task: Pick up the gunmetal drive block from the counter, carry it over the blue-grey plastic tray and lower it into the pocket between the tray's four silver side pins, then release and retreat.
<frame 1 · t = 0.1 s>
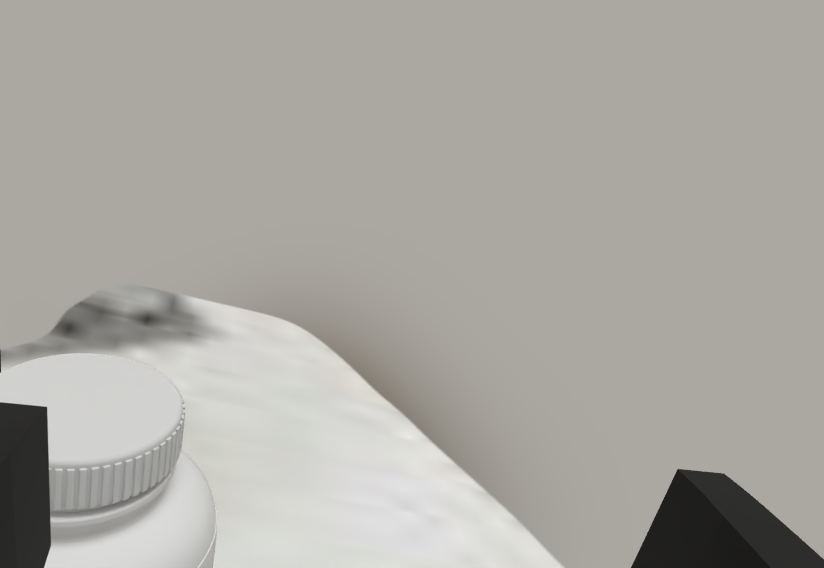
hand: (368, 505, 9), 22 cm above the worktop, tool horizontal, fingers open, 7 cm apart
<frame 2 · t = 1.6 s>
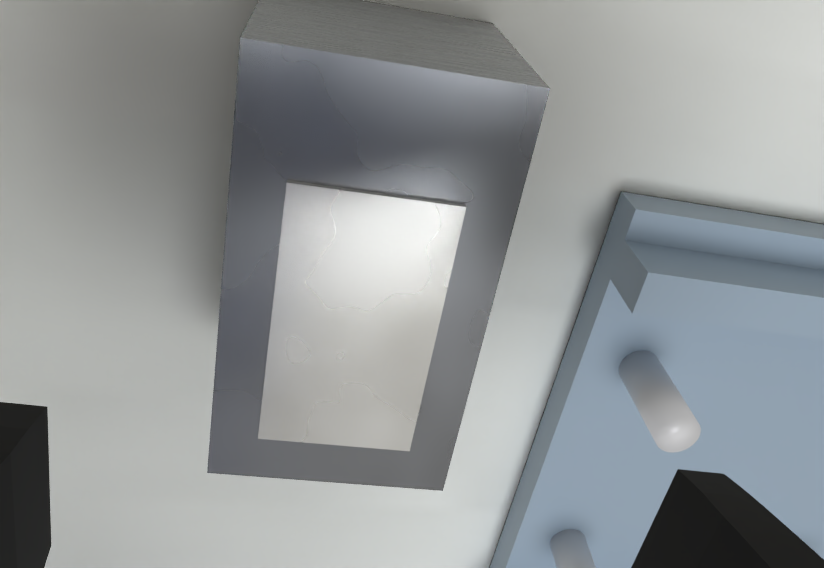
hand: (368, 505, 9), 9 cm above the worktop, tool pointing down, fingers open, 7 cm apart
drive: (353, 188, 17), on the worktop
tray: (707, 447, 22), on the worktop
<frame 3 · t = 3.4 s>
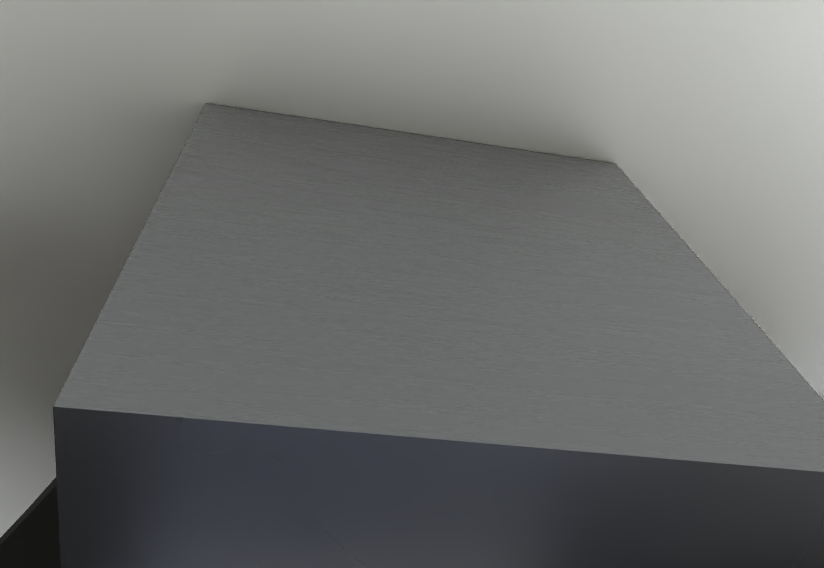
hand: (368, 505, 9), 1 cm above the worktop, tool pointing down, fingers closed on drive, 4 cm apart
drive: (364, 424, 10), on the worktop, touching gripper
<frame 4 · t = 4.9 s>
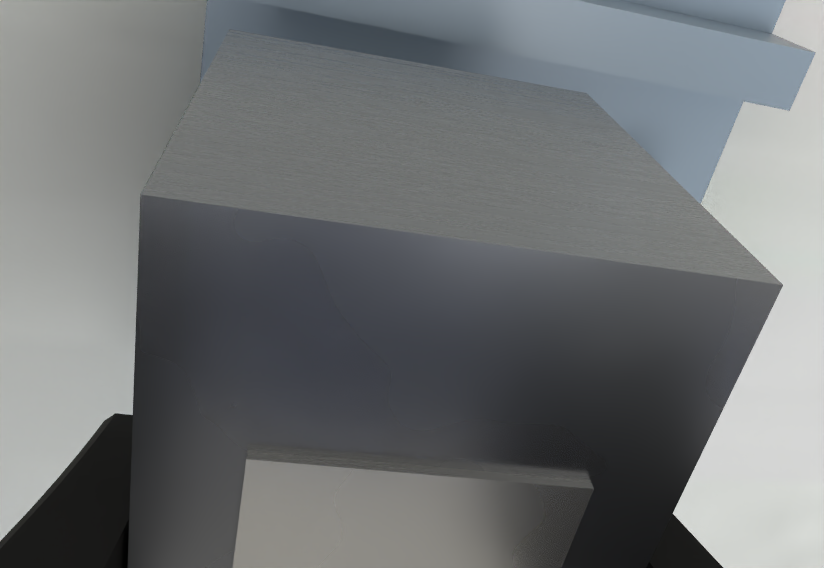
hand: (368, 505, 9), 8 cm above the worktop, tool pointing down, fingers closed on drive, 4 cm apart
drive: (361, 332, 11), point 5 cm above the worktop, touching gripper
tray: (426, 266, 17), on the worktop
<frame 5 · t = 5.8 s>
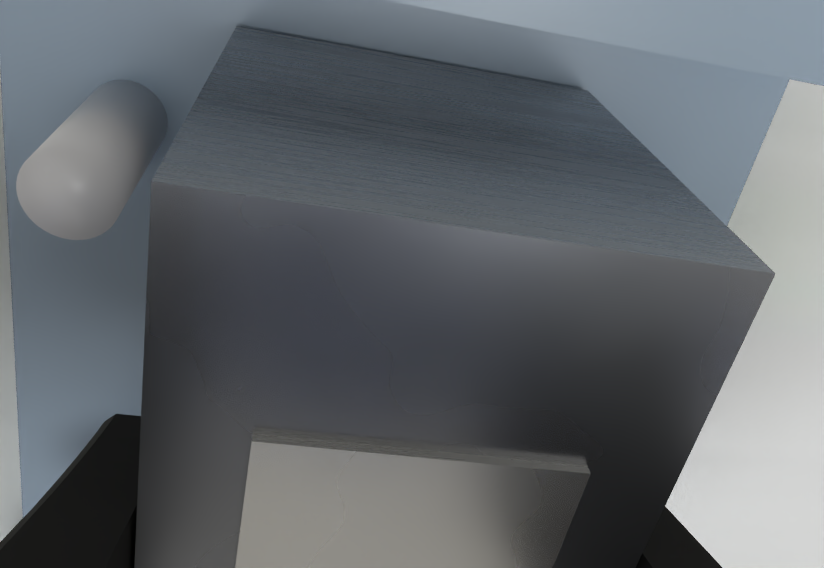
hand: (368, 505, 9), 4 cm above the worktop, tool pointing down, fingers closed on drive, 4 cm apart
drive: (365, 326, 12), point 1 cm above the worktop, touching gripper
tray: (357, 311, 13), on the worktop
when the fingers open (4 cm above the worktop, at t = 6.8 s): drive stays where it is, resting on tray.
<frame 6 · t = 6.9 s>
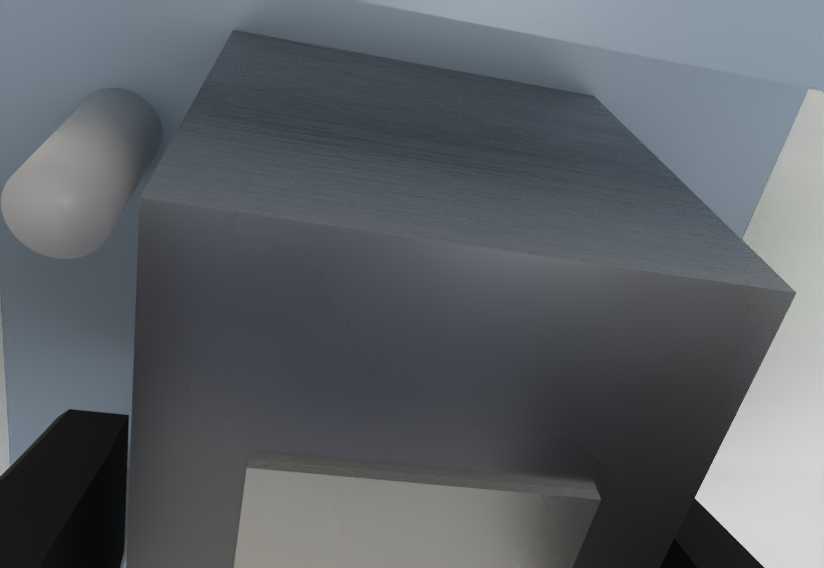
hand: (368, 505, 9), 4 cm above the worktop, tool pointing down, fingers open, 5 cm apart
drive: (365, 337, 11), point 1 cm above the worktop, touching tray
tray: (359, 325, 12), on the worktop
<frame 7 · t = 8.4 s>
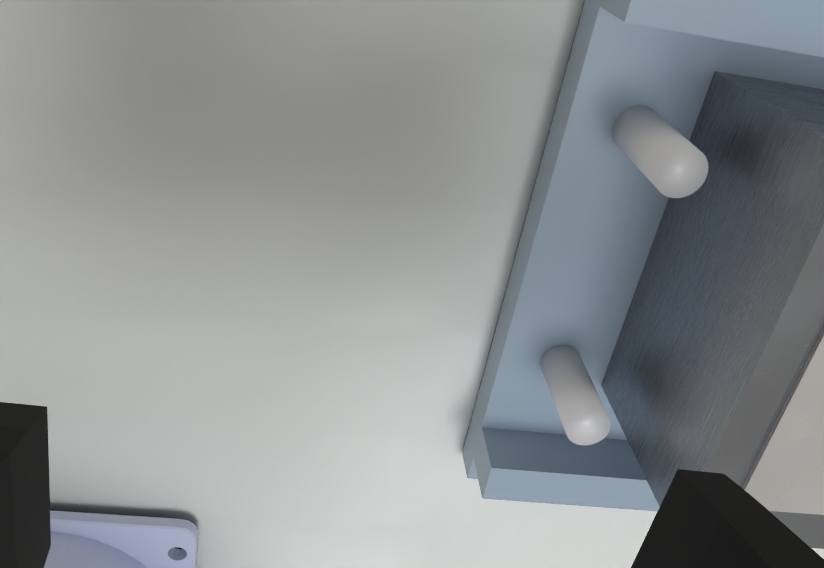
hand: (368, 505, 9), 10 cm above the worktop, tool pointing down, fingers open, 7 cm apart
drive: (741, 256, 18), point 1 cm above the worktop, touching tray
tray: (717, 252, 19), on the worktop
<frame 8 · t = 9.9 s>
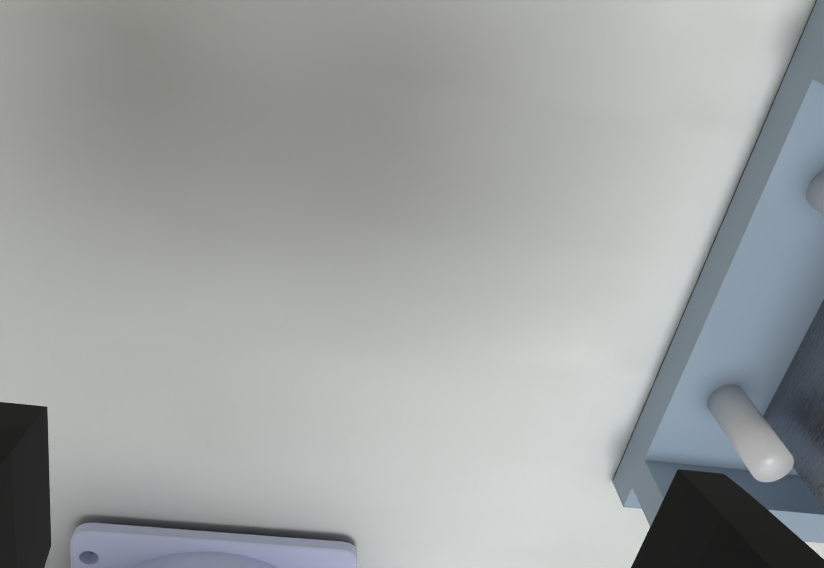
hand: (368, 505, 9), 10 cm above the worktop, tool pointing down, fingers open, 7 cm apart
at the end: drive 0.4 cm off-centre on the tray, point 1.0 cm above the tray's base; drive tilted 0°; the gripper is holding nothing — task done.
